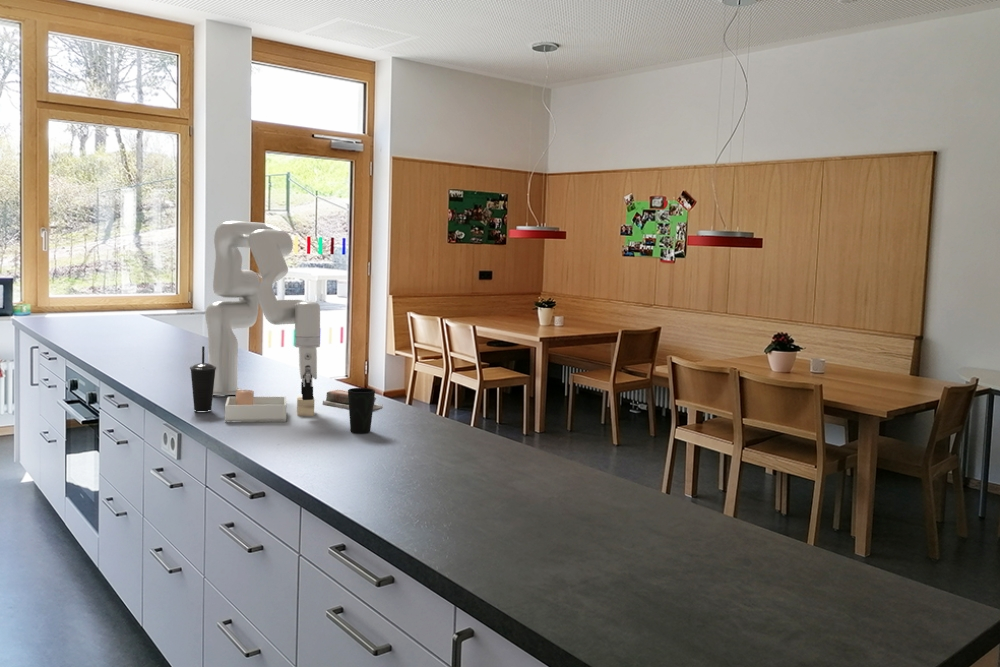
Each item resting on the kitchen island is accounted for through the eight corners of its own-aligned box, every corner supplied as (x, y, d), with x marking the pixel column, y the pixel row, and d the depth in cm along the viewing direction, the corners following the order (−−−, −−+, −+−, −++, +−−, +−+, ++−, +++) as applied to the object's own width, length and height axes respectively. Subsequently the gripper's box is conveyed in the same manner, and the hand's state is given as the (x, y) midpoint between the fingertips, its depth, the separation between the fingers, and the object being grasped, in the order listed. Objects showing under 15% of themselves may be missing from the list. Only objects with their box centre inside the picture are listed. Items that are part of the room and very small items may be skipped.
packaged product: (321, 391, 268) (342, 387, 277) (321, 405, 269) (341, 401, 277) (363, 398, 259) (383, 394, 268) (363, 413, 260) (383, 409, 268)
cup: (368, 435, 229) (369, 393, 227) (342, 433, 230) (343, 391, 229) (377, 429, 236) (379, 389, 235) (352, 427, 238) (353, 386, 236)
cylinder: (252, 412, 248) (253, 389, 247) (253, 416, 243) (254, 393, 242) (235, 412, 246) (236, 389, 245) (235, 416, 241) (236, 392, 240)
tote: (227, 412, 249) (227, 396, 249) (285, 412, 254) (286, 396, 253) (224, 422, 237) (225, 405, 236) (286, 421, 241) (286, 405, 241)
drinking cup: (198, 414, 245) (199, 348, 243) (184, 410, 249) (184, 346, 247) (221, 411, 251) (221, 347, 249) (206, 407, 255) (207, 344, 253)
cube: (296, 412, 255) (297, 396, 255) (313, 412, 256) (313, 396, 256) (297, 415, 250) (297, 399, 250) (314, 415, 252) (314, 399, 251)
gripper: (321, 345, 244) (320, 401, 245) (318, 339, 260) (318, 392, 262) (295, 345, 242) (295, 402, 243) (294, 339, 258) (294, 392, 260)
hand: (307, 396), depth 252 cm, fingers open, 9 cm apart
